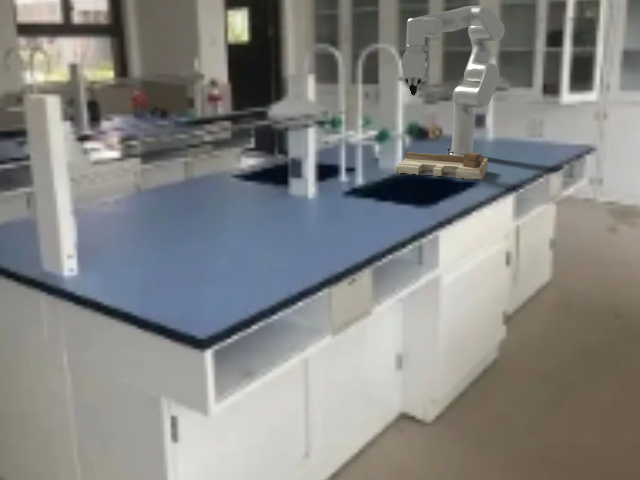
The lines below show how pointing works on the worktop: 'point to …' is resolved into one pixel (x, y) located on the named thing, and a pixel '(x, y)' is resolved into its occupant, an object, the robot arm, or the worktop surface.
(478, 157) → the walnut block
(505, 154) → the worktop surface
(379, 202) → the worktop surface
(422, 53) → the robot arm
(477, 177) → the board
